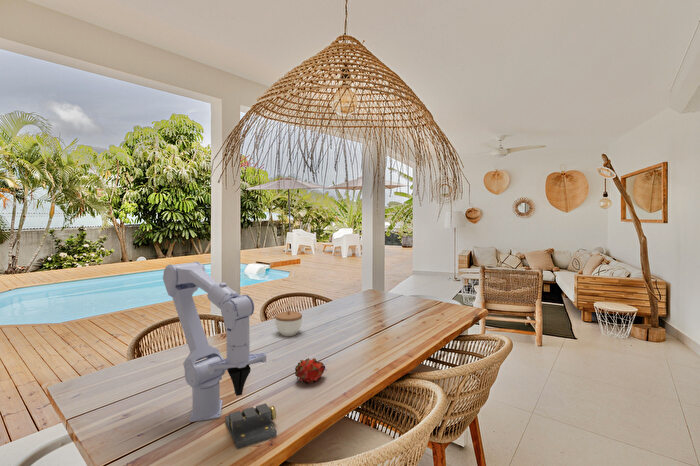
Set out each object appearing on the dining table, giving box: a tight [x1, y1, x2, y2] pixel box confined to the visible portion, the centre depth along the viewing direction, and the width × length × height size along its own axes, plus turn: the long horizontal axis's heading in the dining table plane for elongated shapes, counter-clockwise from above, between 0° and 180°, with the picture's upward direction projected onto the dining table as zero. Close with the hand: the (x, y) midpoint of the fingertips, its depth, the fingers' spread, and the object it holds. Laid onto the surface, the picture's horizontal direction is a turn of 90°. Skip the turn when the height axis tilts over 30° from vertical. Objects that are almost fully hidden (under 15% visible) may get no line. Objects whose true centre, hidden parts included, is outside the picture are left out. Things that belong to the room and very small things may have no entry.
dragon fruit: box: [294, 357, 326, 385], centre depth 121 cm, size 8×8×12 cm
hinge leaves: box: [224, 403, 278, 450], centre depth 94 cm, size 13×10×4 cm
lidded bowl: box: [274, 310, 303, 337], centre depth 168 cm, size 13×13×11 cm
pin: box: [230, 405, 277, 429], centre depth 94 cm, size 3×11×3 cm, turn 121°
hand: (238, 393), depth 92 cm, fingers closed
